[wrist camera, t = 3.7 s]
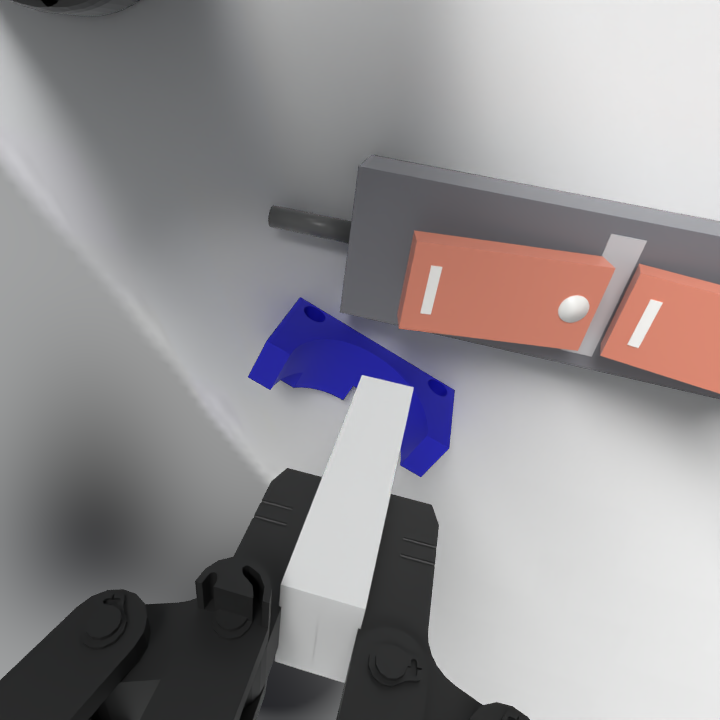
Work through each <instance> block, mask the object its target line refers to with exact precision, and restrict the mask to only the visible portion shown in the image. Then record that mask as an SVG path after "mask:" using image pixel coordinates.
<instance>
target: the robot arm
mask: <svg viewBox="0 0 720 720" xmlns="http://www.w3.org/2000/svg"><path fill="white" fill-rule="evenodd" d="M10 1H13V2H15V3H18V4H20V5H23V6H26V7H29V8H32V9H35V10H39V11H44V12H49V13H58V14H67V15H77V16H101V15H107V14H111V13H115V12H118V11H121V10H123V9H125V8H127V7H129V6H131V5H133V4H134V3H136V2H138V1H139V0H10ZM413 389H414V387H410V386H406V385H402V384H398V383H394V382H389V381H385V380H381V379H377V378H373V377H368V376H364V375H362V376H361V379H360V381H359V384H358V386H357V389H356V392H355V394H354V397H353V399H352V402H351V404H350V407H349V410H348V412H347V415H346V417H345V420H344V422H343V425H342V428H341V430H340V433H339V435H338V438H337V440H336V443H335V446H334V448H333V451H332V453H331V456H330V459H329V461H328V464H327V466H326V469H325V471H324V474H323V477H319V476H315V475H312V474H308V473H304V472H300V471H297V470H293V469H289V468H287V469H286V470H284V471H283V472H282V473H281V474H280V475H279V476H277V477H276V478H275V479H274V480H273V481H271V483H270V485H269V487H268V489H267V491H266V493H265V495H264V497H263V499H262V502H261V503H260V505H259V507H258V509H257V511H256V513H255V516H254V518H253V519H252V521H251V523H250V525H249V527H248V529H247V531H246V533H245V535H244V537H243V539H242V541H241V543H240V545H239V547H238V549H237V551H236V553H235V555H234V557H231V558H227V559H223V560H219V561H217V562H215V563H214V564H212V565H211V566H209V567H207V568H206V569H205V570H204V571H203V572H202V573H201V575H200V576H199V577H198V579H197V580H196V581H195V584H196V594H197V598H196V599H193V600H191V601H186V602H179V603H164V604H145V603H144V602H143V601H142V600H141V599H140V598H139V597H138V596H137V595H136V594H135V593H132V592H129V591H126V590H107V591H105V592H102V593H99V594H97V595H94V596H91V597H90V598H89V599H87V600H86V601H85V602H83V603H82V604H80V605H79V606H78V607H76V609H74V610H73V611H72V612H71V613H70V614H69V615H68V616H67V617H66V618H65V619H64V620H63V621H62V622H61V623H60V624H59V625H58V626H57V627H56V628H54V629H53V630H52V631H51V632H50V633H49V634H48V635H47V636H46V637H45V638H44V639H43V640H42V641H41V642H40V643H39V644H38V645H37V646H36V647H35V648H33V650H31V651H30V652H29V653H28V654H27V655H26V656H25V657H24V658H23V659H22V660H21V661H20V662H19V663H18V664H17V665H16V666H15V667H14V668H12V669H11V670H10V671H9V672H8V673H7V674H6V675H5V676H4V677H3V678H2V679H1V680H0V720H256V719H257V716H258V713H259V710H260V707H261V704H262V701H263V698H264V696H265V690H266V683H267V677H268V674H269V671H270V668H271V666H272V663H273V660H274V657H275V661H276V662H279V663H282V664H285V665H288V666H291V667H295V668H298V669H301V670H304V671H308V672H311V673H314V674H317V675H321V676H324V677H327V678H330V679H334V680H337V681H340V682H343V683H345V685H344V689H343V694H342V698H341V703H340V707H339V711H338V715H337V719H336V720H530V719H529V718H528V717H527V716H525V715H524V714H523V713H521V712H520V711H518V710H517V709H515V708H514V707H513V706H509V705H505V704H501V703H497V702H496V703H491V704H487V705H482V704H480V703H479V702H477V701H476V700H475V699H473V698H472V697H470V696H469V695H468V694H466V693H465V692H463V691H462V690H461V689H459V688H458V687H456V686H455V685H454V684H453V683H452V682H451V681H449V680H448V679H447V678H446V677H445V676H444V675H443V673H442V672H441V671H440V669H439V668H438V667H437V665H436V663H435V661H434V659H433V657H432V655H431V651H430V647H429V643H428V626H429V616H430V606H431V597H432V587H433V577H434V564H435V557H436V546H437V537H438V527H439V524H438V522H437V519H436V516H435V513H434V510H433V507H432V505H430V504H426V503H423V502H419V501H415V500H411V499H407V498H404V497H400V496H396V495H392V494H391V490H392V485H393V481H394V476H395V472H396V467H397V463H398V458H399V453H400V449H401V444H402V440H403V435H404V430H405V426H406V421H407V417H408V412H409V407H410V403H411V398H412V394H413ZM275 654H276V655H275Z"/></svg>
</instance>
